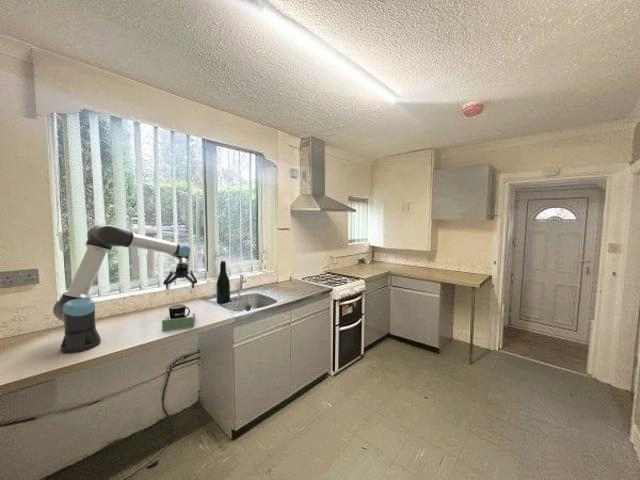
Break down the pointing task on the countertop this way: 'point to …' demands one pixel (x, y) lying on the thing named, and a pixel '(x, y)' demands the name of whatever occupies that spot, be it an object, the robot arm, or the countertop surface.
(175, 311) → the mug
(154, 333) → the countertop surface
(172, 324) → the block
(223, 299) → the beer bottle
